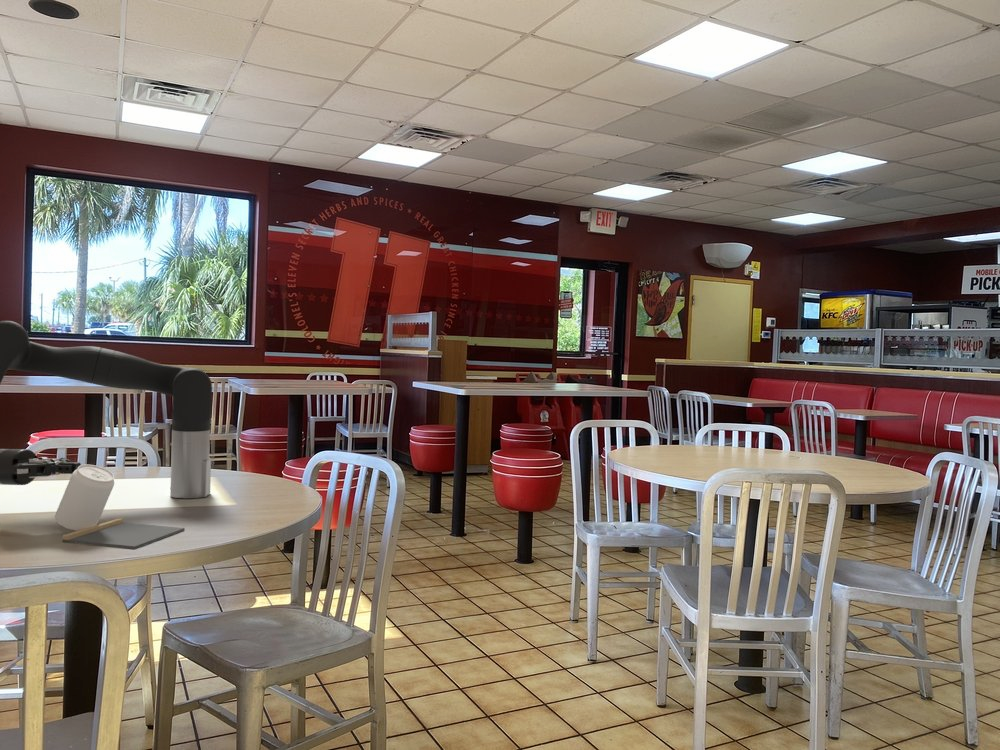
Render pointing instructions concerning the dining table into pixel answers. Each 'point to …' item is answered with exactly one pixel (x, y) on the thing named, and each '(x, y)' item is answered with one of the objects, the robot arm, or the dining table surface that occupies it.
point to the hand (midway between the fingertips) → (78, 468)
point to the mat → (121, 534)
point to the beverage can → (85, 497)
